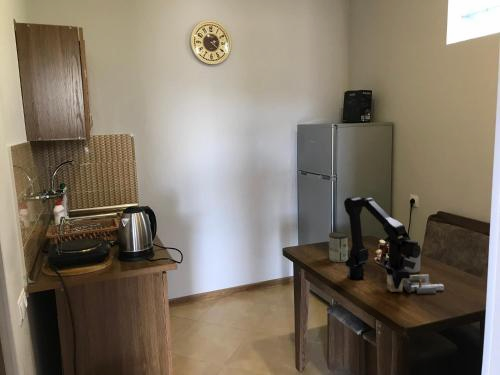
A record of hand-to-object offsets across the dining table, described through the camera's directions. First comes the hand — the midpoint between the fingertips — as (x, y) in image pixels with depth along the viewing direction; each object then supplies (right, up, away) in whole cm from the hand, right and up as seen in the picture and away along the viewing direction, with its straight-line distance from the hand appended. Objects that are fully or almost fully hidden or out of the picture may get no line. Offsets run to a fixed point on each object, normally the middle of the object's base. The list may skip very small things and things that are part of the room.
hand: (394, 286), depth 180 cm
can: (+17, +2, +24) cm, 30 cm away
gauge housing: (+11, -2, +2) cm, 11 cm away
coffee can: (-15, +4, +46) cm, 48 cm away
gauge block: (0, -1, 0) cm, 1 cm away
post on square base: (+13, -2, 0) cm, 13 cm away
